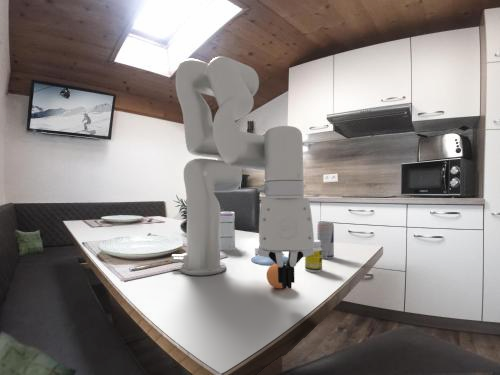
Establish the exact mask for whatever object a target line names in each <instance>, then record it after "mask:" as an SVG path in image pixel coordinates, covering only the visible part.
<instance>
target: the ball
mask: <svg viewBox="0 0 500 375" xmlns="http://www.w3.org/2000/svg"><path fill="white" fill-rule="evenodd" d="M266 280H267V282H268V284H269V285H270V286H272V287H273V288H274V289H283V287H282V284H281V283H279V282H278V265H277V264H273V265H269V266H268V269H267V271H266Z"/></svg>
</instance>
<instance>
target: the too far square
mask: <svg viewBox="0 0 500 375" xmlns="http://www.w3.org/2000/svg"><path fill="white" fill-rule="evenodd" d="M258 249H259V247H257V248H254V253H255V254H254V256H259V255H258ZM282 256H284V253H283V252H282Z"/></svg>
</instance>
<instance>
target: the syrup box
mask: <svg viewBox="0 0 500 375" xmlns="http://www.w3.org/2000/svg"><path fill="white" fill-rule="evenodd" d="M235 213H236V212H234V211H220V251H234V250H235V248H236V226H235V225H236V223H235V222H236V221H235V220H236V219H235V218H236V217H235V216H236V215H235Z"/></svg>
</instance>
